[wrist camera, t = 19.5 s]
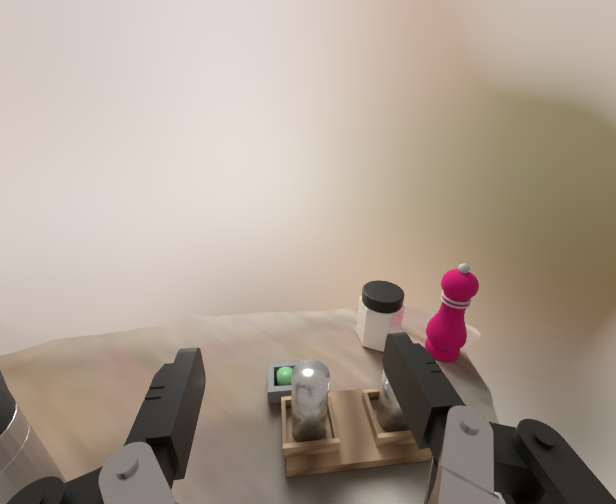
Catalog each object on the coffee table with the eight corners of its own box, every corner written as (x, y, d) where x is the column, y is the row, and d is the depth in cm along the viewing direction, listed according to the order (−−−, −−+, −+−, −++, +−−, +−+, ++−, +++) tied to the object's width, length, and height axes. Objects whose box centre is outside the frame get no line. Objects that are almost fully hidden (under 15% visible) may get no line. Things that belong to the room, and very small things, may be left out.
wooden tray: (283, 477, 38) (283, 462, 36) (281, 402, 47) (280, 388, 46) (432, 460, 40) (437, 444, 38) (400, 391, 50) (404, 377, 48)
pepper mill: (468, 355, 57) (497, 267, 49) (445, 369, 54) (472, 278, 45) (437, 333, 63) (458, 252, 54) (414, 345, 60) (433, 260, 51)
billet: (292, 446, 40) (292, 391, 35) (290, 412, 44) (290, 360, 39) (327, 443, 40) (332, 389, 35) (322, 410, 45) (326, 358, 40)
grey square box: (268, 403, 47) (267, 392, 46) (268, 374, 53) (268, 363, 51) (304, 400, 48) (304, 388, 47) (301, 371, 53) (301, 360, 52)
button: (277, 394, 49) (276, 381, 47) (277, 379, 51) (276, 367, 50) (295, 392, 49) (294, 380, 48) (293, 378, 52) (293, 366, 50)
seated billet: (382, 436, 41) (393, 382, 36) (371, 404, 46) (379, 353, 41) (415, 432, 42) (430, 379, 37) (401, 401, 46) (413, 350, 41)
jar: (399, 331, 64) (408, 285, 59) (395, 356, 57) (405, 307, 52) (360, 321, 67) (365, 276, 62) (351, 344, 60) (356, 296, 55)
